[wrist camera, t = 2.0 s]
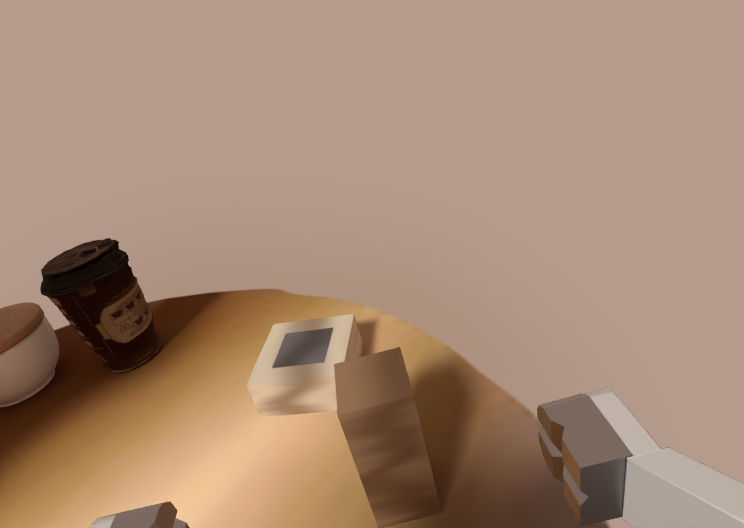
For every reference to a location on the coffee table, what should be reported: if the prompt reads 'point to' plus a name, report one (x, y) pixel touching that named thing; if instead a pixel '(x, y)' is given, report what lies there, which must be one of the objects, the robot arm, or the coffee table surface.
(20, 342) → the lidded jar
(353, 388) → the walnut pillar
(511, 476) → the coffee table surface
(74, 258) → the coffee cup
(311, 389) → the birch plinth
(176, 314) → the coffee table surface
